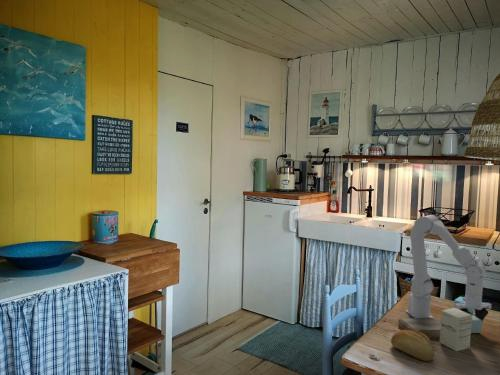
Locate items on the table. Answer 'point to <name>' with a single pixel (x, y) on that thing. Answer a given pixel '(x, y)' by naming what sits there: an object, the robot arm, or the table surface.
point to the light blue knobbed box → (460, 300)
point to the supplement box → (455, 329)
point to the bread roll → (413, 344)
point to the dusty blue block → (476, 325)
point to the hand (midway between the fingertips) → (471, 326)
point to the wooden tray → (422, 326)
